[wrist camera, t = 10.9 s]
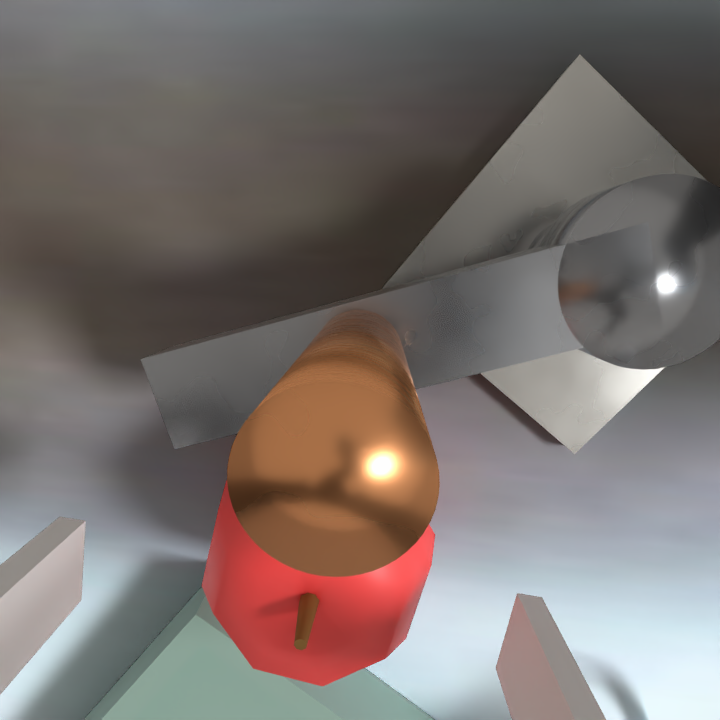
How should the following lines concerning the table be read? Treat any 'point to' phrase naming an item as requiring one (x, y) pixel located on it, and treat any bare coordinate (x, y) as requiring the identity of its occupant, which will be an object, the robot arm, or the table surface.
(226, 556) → the apple
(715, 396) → the table surface
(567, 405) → the crank post
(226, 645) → the tray
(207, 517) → the table surface
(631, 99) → the table surface
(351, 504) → the crank
